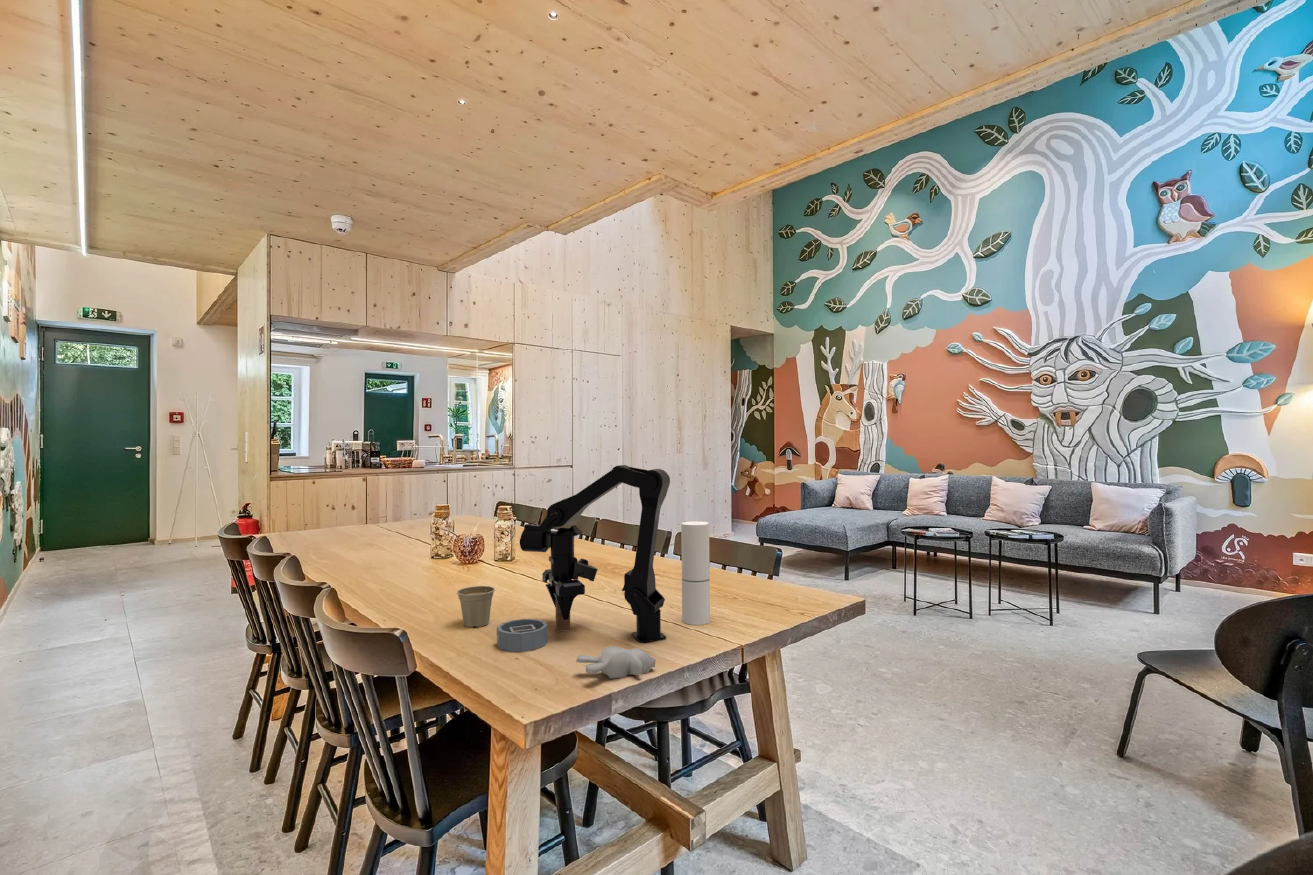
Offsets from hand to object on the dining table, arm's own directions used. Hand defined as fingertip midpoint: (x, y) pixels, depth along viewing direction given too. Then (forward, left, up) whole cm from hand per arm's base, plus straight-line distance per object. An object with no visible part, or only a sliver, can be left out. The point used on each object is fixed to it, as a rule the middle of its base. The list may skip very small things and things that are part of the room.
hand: (562, 616), depth 149 cm
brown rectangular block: (0, 0, -3) cm, 3 cm away
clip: (-6, +11, -3) cm, 13 cm away
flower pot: (+14, +19, -3) cm, 24 cm away
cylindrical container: (-7, -33, -3) cm, 34 cm away
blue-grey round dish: (-6, +11, -3) cm, 13 cm away
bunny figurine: (-32, -3, -4) cm, 33 cm away
